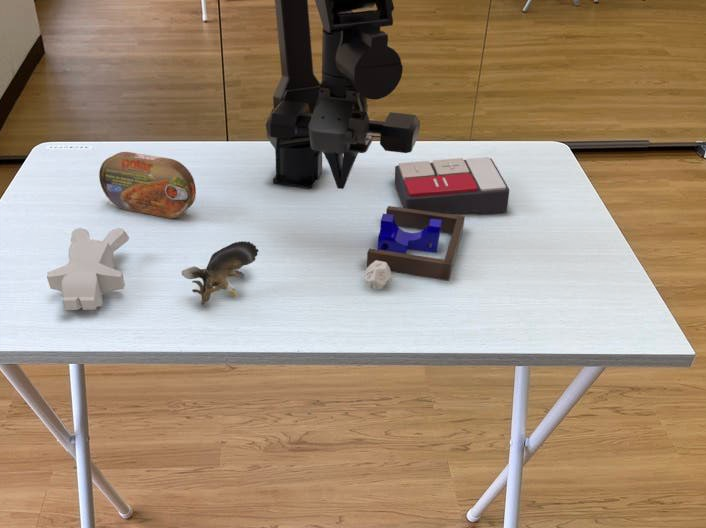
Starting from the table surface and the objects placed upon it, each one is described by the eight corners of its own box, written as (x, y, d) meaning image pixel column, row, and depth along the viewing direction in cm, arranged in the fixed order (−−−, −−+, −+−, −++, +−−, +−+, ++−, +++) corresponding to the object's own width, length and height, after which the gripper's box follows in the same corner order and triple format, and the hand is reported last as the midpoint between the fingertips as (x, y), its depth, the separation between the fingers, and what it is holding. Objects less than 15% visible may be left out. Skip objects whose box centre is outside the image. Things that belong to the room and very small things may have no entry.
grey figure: (35, 290, 94) (61, 215, 104) (46, 321, 97) (70, 246, 107) (113, 290, 93) (132, 215, 103) (121, 321, 97) (138, 246, 107)
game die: (397, 286, 100) (399, 266, 98) (374, 295, 99) (375, 275, 97) (380, 274, 103) (382, 254, 101) (357, 282, 101) (359, 263, 99)
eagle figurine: (241, 310, 95) (272, 262, 100) (204, 266, 91) (238, 219, 96) (201, 321, 100) (233, 275, 105) (166, 280, 97) (200, 235, 102)
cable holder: (377, 251, 107) (379, 226, 104) (381, 239, 109) (382, 213, 107) (435, 258, 105) (439, 232, 102) (438, 245, 108) (441, 219, 105)
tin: (103, 205, 118) (93, 153, 112) (114, 196, 120) (104, 144, 114) (191, 223, 113) (185, 169, 108) (201, 213, 115) (196, 160, 110)
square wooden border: (366, 267, 104) (367, 251, 102) (386, 221, 113) (388, 205, 111) (448, 280, 101) (451, 264, 99) (462, 231, 110) (465, 216, 109)
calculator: (394, 160, 119) (491, 152, 119) (393, 186, 122) (488, 178, 122) (406, 194, 111) (511, 185, 111) (405, 221, 114) (507, 212, 114)
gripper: (250, 85, 91) (256, 206, 101) (408, 102, 86) (397, 226, 97) (280, 54, 99) (282, 169, 109) (426, 68, 94) (414, 186, 104)
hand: (341, 187), depth 104 cm, fingers closed
